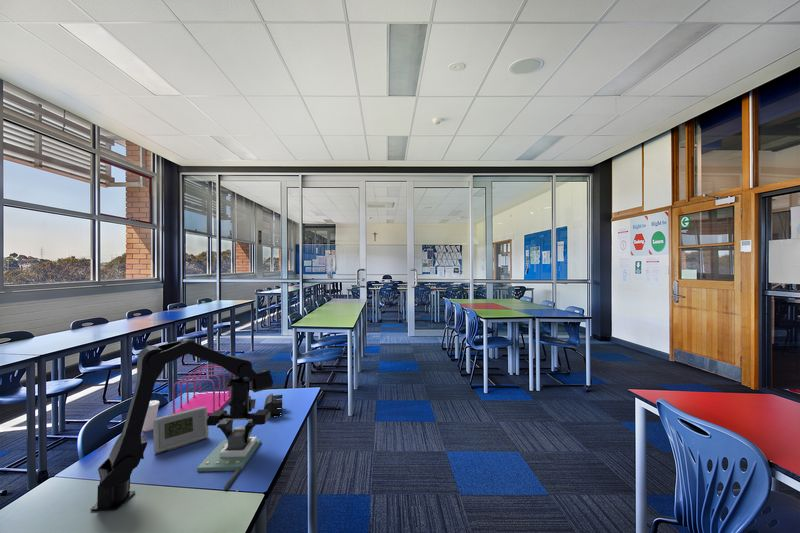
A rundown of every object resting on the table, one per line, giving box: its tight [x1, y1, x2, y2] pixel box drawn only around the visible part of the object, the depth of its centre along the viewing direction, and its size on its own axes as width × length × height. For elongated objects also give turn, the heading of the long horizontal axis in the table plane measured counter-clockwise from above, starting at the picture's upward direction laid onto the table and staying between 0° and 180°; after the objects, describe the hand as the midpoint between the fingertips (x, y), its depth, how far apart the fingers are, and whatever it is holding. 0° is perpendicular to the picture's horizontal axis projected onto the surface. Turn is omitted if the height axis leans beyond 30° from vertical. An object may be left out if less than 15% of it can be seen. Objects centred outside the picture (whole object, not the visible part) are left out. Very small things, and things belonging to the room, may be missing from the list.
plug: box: [228, 426, 249, 451], centre depth 107 cm, size 6×4×6 cm
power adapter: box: [263, 393, 283, 418], centre depth 137 cm, size 10×7×7 cm
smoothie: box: [142, 399, 160, 432], centre depth 122 cm, size 6×6×14 cm
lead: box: [223, 467, 242, 490], centre depth 94 cm, size 12×1×1 cm, turn 4°
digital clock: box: [152, 407, 209, 454], centre depth 112 cm, size 16×9×11 cm, turn 122°
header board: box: [196, 436, 262, 473], centre depth 105 cm, size 16×13×3 cm
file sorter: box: [171, 364, 236, 417], centre depth 144 cm, size 17×25×16 cm
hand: (238, 442), depth 107 cm, fingers open, 5 cm apart
